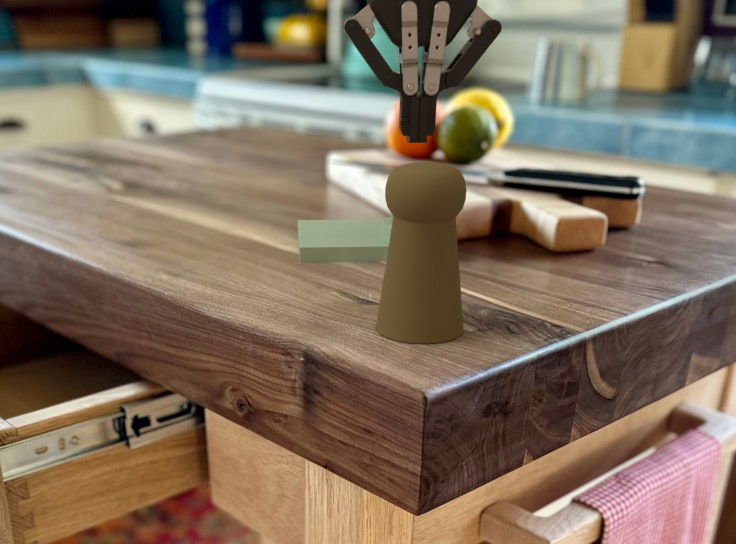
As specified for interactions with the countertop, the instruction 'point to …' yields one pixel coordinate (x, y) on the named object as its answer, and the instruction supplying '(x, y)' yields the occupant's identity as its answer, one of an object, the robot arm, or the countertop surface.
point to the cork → (422, 255)
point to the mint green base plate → (344, 240)
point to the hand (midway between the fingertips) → (416, 141)
